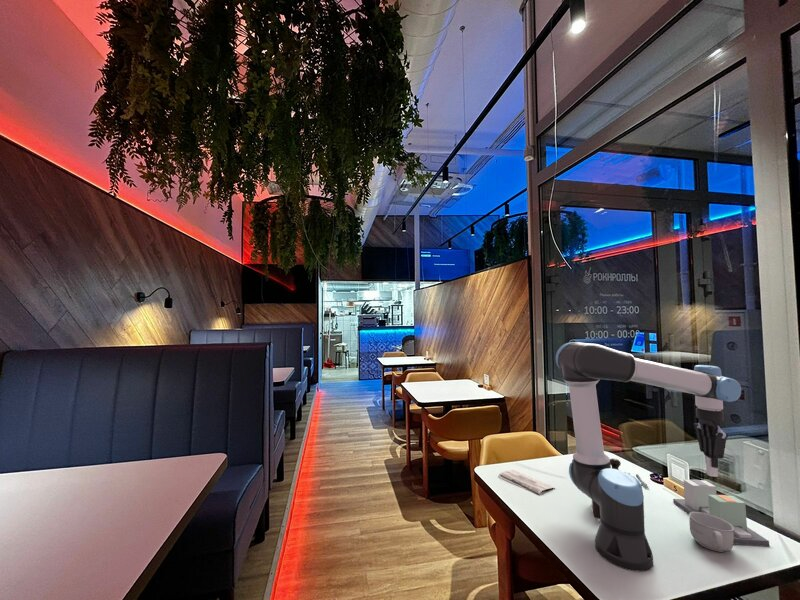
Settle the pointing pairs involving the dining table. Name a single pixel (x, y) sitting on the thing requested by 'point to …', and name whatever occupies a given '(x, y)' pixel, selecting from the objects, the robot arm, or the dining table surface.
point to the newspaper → (524, 481)
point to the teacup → (711, 531)
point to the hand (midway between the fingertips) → (712, 475)
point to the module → (728, 510)
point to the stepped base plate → (699, 502)
